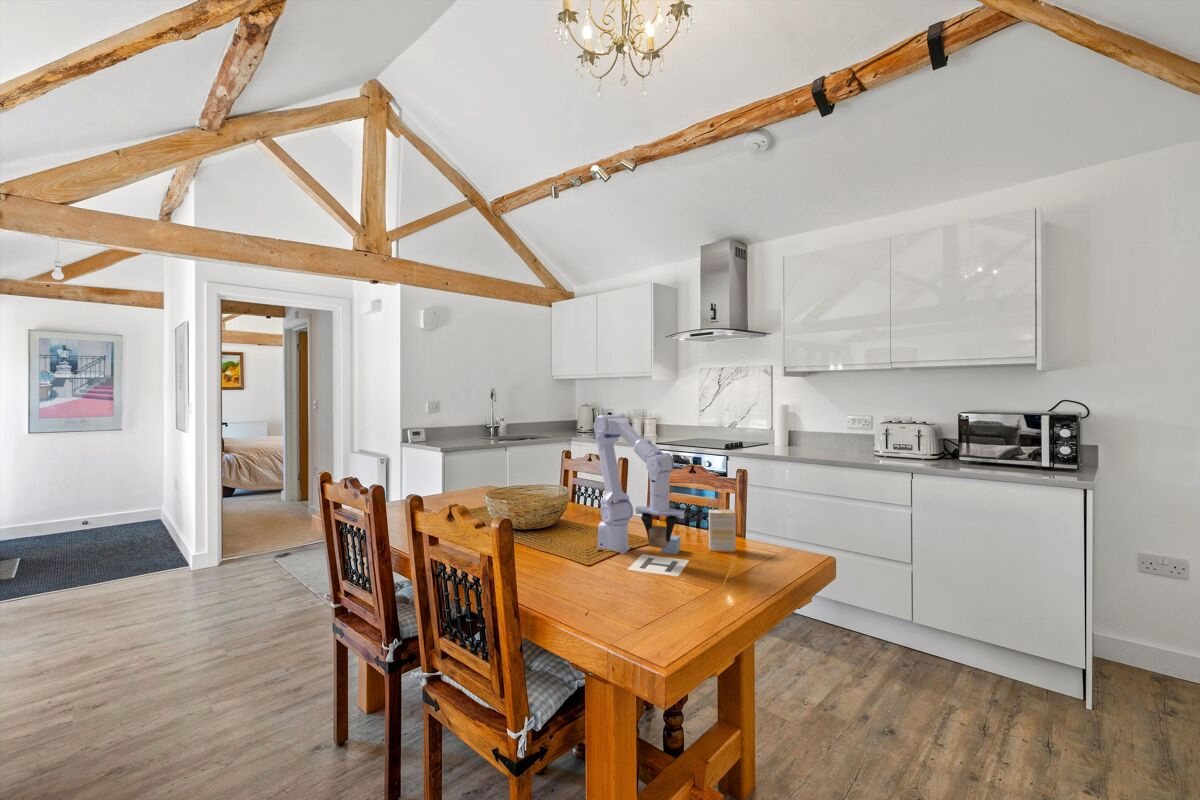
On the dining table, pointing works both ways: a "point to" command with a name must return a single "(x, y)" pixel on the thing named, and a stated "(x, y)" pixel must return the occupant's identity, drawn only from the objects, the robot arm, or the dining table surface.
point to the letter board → (659, 565)
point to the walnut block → (658, 536)
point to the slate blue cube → (672, 545)
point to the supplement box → (722, 530)
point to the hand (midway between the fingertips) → (659, 539)
